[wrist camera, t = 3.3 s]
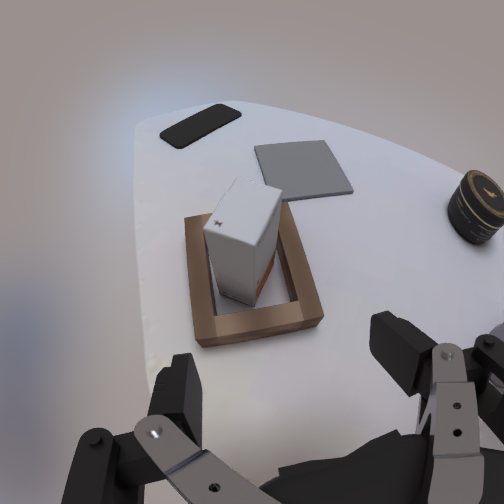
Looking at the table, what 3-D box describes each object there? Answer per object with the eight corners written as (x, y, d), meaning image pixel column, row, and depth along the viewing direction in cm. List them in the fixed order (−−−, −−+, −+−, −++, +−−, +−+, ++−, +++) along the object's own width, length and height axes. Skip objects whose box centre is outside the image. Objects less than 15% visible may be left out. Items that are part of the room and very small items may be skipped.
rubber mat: (323, 143, 44) (324, 140, 43) (352, 193, 38) (353, 190, 37) (254, 148, 43) (254, 145, 42) (271, 203, 36) (272, 200, 36)
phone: (244, 113, 48) (179, 148, 43) (244, 117, 49) (180, 152, 43) (219, 102, 51) (157, 133, 45) (219, 105, 52) (157, 137, 46)
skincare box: (254, 308, 29) (254, 248, 19) (218, 293, 30) (199, 228, 20) (275, 262, 32) (284, 188, 22) (241, 249, 33) (236, 174, 23)
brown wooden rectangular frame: (284, 219, 35) (287, 201, 32) (316, 326, 28) (324, 315, 25) (190, 235, 34) (184, 217, 31) (202, 347, 27) (195, 339, 24)
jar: (494, 247, 33) (520, 220, 26) (459, 248, 33) (486, 218, 26) (472, 200, 38) (492, 172, 31) (436, 197, 38) (455, 164, 31)
